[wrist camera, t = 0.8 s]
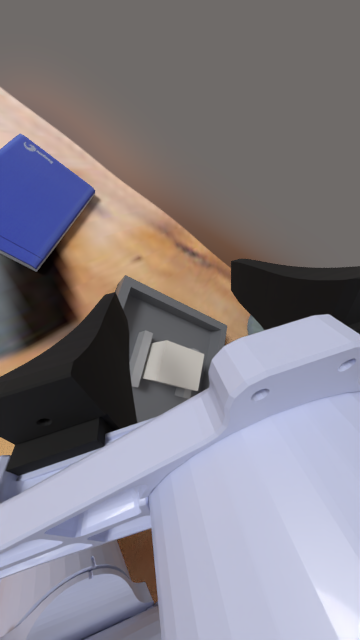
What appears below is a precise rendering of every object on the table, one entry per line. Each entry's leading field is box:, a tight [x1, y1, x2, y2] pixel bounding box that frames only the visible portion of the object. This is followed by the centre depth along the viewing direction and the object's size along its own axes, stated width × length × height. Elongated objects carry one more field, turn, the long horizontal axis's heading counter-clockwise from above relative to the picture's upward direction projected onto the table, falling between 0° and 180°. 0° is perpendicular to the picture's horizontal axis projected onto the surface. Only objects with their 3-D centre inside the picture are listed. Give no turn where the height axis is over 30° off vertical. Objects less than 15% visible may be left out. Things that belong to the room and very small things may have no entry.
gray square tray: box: [115, 275, 227, 423], centre depth 23 cm, size 16×16×3 cm
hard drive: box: [0, 134, 95, 272], centre depth 20 cm, size 2×8×12 cm
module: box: [141, 340, 204, 391], centre depth 22 cm, size 4×5×5 cm
